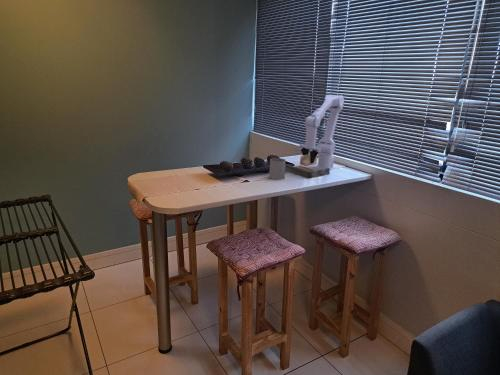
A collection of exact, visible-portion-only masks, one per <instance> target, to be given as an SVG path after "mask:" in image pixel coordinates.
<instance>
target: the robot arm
mask: <svg viewBox="0 0 500 375" xmlns="http://www.w3.org/2000/svg"><path fill="white" fill-rule="evenodd" d="M344 103H345V98H344V96H343V95H338V94H337V95H336V94H335V95H334V94H326V95H325V96H324V101H323V103H322V105H321V106H320V107H319V108H318V107H317V108H316V109H315V110H314V111H313V113H312V114H311V115H310V116H309V115H308V116H307V117H306V118H305V121H304V125H305V126H304V127H305V130H306V132H305V143H300V144H299V148H300V152H301V154H302V155H309V154H310V163H314V160H315V158H316V156H317V166H315V167H314V168H315V169H318V170H319V169H324V168H330V170H331V168H332V169H334V162H335V157H334V155H333V154H334V153H335V149H336V147H335V146H336V142H335V141H334V140H333V137H334V134H335V129H336V126H337V123H338V120H339V114H340V112H341V111H342V109H343V108H344ZM327 111H330V113H329V116H328V120H327V124H326V127H325V130H324V131H325V132H324V135H323V138H321V139H319V140H318V143H317V134H318V133H317V132H318V128H319V127H320V124H321V121H322V119H323V118H324V117H325V116H326V112H327ZM316 143H317V144H316Z"/></svg>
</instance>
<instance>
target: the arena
mask: <svg viewBox="0 0 500 375" xmlns="http://www.w3.org/2000/svg"><path fill="white" fill-rule="evenodd" d="M330 171H331V169H330V168H324V169H319V168H318V169H314V168H310V167H308V166H304V165H300V164H299V165H296V166H293V165H290V164H286V163H285V172H287V173H291V174H294V175H297V176H300V177H303V178H307V179H313V178H318V177H322V176H326V175H327V176H328V175H330Z"/></svg>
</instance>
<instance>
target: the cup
mask: <svg viewBox="0 0 500 375" xmlns="http://www.w3.org/2000/svg"><path fill="white" fill-rule="evenodd" d="M285 164H286V159H285V158H281V157H272V158H270V159H269V176H268V178H269V179H272V180H276V181H277V180H280V181H281V180H284V179H285V174H286V171H285Z"/></svg>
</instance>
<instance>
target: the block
mask: <svg viewBox="0 0 500 375" xmlns="http://www.w3.org/2000/svg"><path fill="white" fill-rule="evenodd" d="M300 165H301V166H304V167H309V166H313V165H318V155H317V156H316V158H315V160H314V163H310V153H309V154H308V155H303V154H302V155H300V160H299V166H300Z"/></svg>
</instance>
